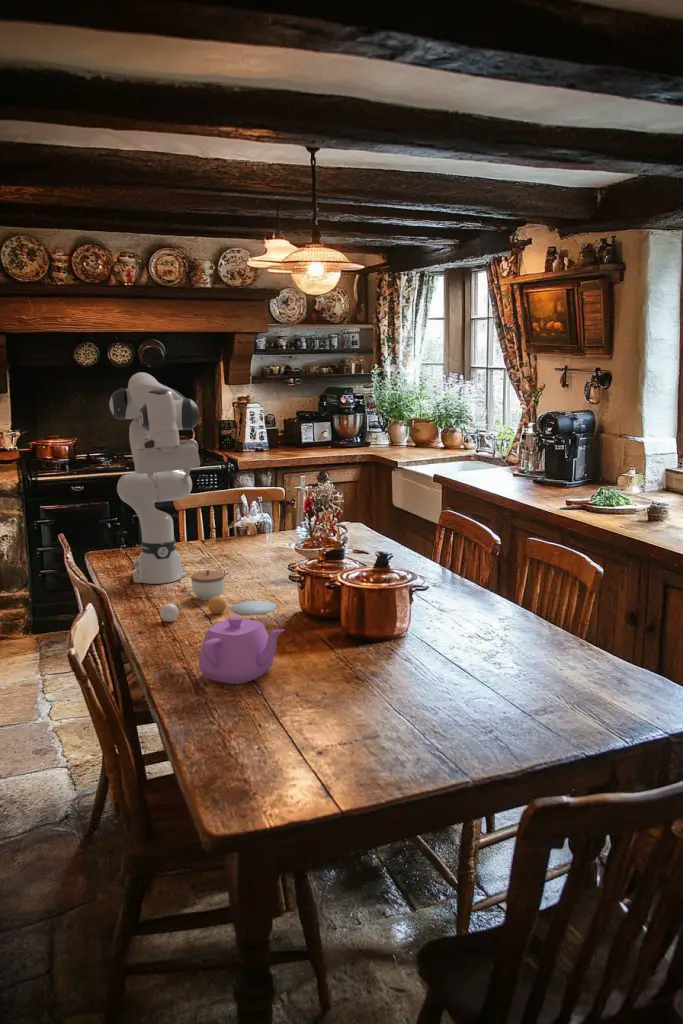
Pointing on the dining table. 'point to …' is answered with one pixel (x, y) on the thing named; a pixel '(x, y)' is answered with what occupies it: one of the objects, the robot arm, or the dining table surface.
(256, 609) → the gray disc
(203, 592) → the lidded jar
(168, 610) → the cue ball
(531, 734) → the dining table surface
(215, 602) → the object ball
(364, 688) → the dining table surface
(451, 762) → the dining table surface
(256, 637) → the teapot
